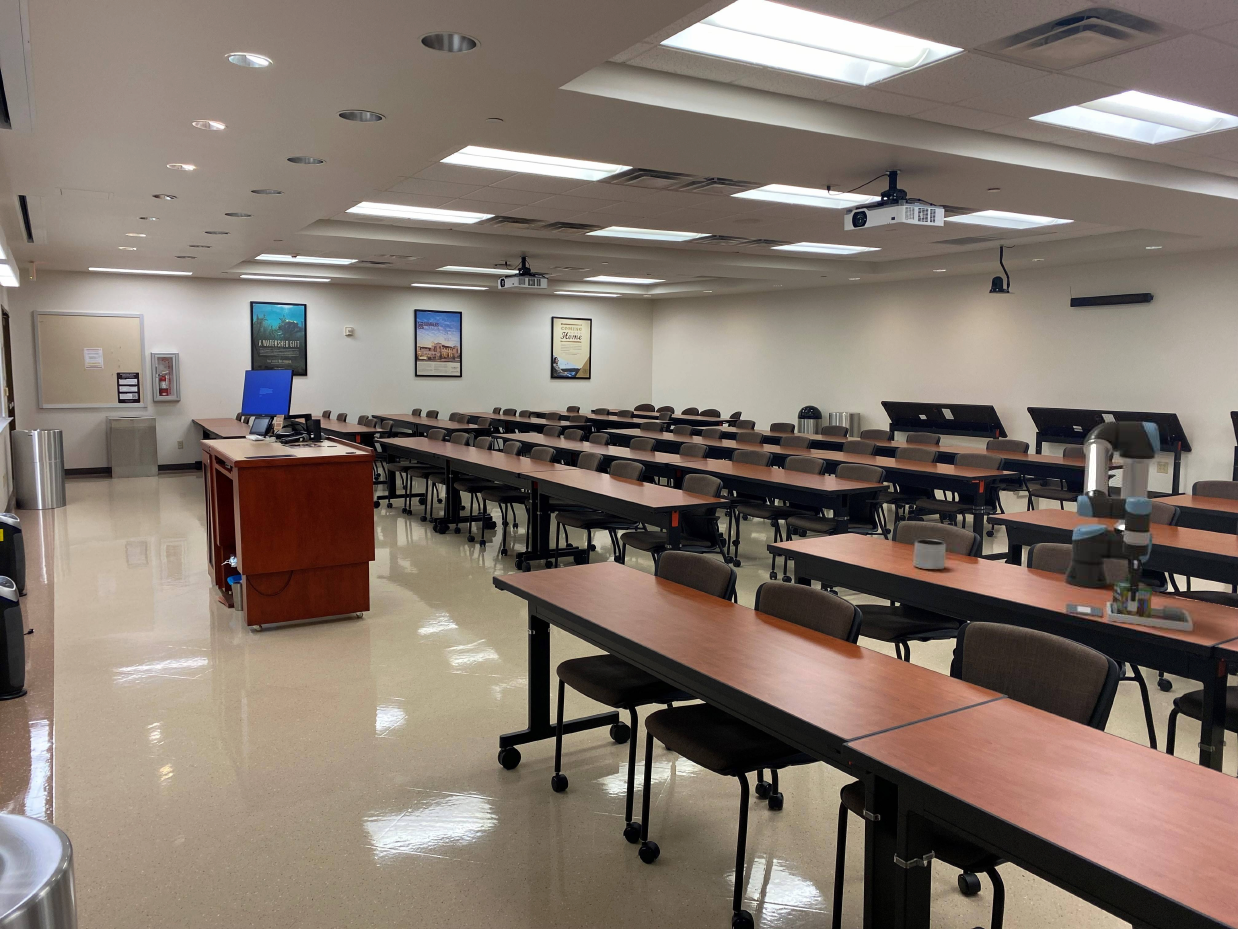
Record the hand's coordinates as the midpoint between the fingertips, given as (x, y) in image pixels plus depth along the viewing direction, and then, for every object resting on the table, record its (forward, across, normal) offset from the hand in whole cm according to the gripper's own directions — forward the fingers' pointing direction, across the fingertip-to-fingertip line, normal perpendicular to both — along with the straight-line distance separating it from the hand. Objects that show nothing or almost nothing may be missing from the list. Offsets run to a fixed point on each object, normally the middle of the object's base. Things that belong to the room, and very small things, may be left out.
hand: (1131, 606), depth 290 cm
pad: (+4, -1, -14) cm, 15 cm away
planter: (+5, -42, -72) cm, 83 cm away
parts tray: (+4, 0, +5) cm, 6 cm away
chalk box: (+4, 0, 0) cm, 4 cm away
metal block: (+4, 0, +12) cm, 13 cm away
